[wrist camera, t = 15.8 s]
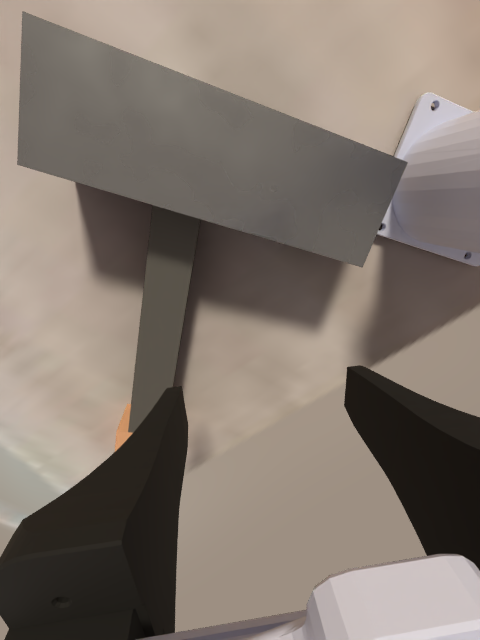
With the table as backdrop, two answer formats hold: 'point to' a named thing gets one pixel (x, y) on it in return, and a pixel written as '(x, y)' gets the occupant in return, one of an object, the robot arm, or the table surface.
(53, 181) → the table surface
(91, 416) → the table surface
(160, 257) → the grey orange long bar
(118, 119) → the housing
